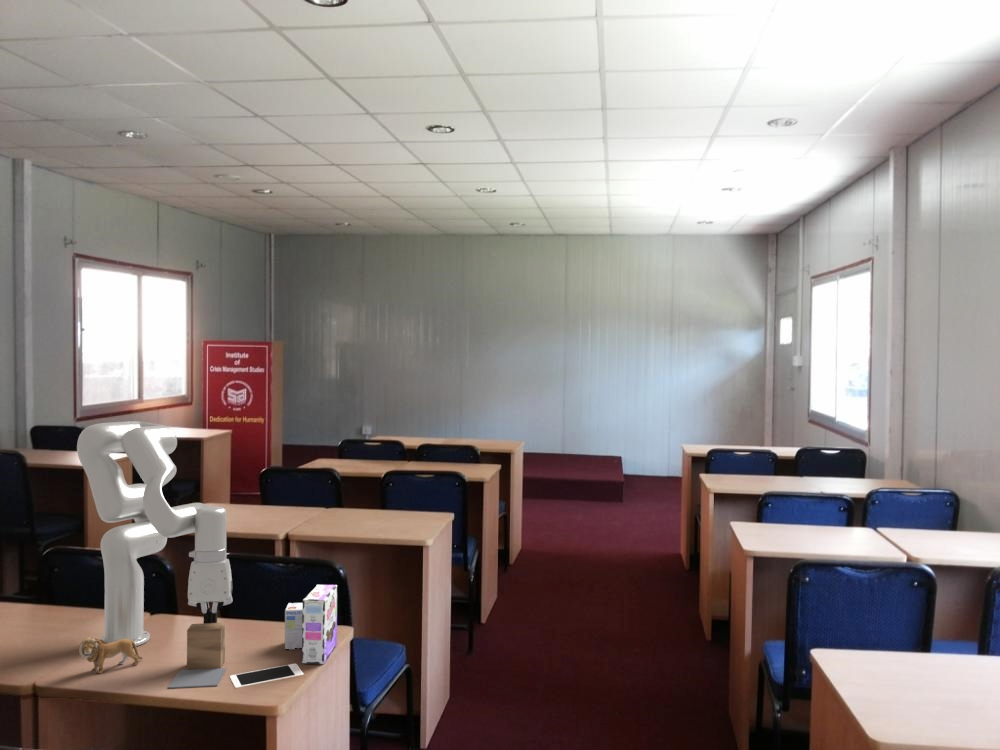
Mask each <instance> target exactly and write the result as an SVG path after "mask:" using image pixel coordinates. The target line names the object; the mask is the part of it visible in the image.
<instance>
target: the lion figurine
mask: <svg viewBox="0 0 1000 750" xmlns="http://www.w3.org/2000/svg"><path fill="white" fill-rule="evenodd" d="M132 646H133V647H132ZM78 648H79V656H80V657H81V659H85V660H86V661H88V662H89V663H93V667H92V668H91V671H92V670H96V669H97V670H96V674H97V673H101V672H102V673H103V671H104V663H105V660H106V659H112V658H114V657H116V656H118V655H119V654H120V653H121V655H122V657H123V658H122V660H120V661H118V665H119V664H121V665H124V664H125V663H126V662H127V660H129V659H128V658H131V659H132V660H134V662H132V664H131V665H132V666H138V664H139V660H143V659H144V658H143V657H142V656H140V655H139V651H138V646H136V644H135V643H134V642H133V641H132V640H130V639H121V640H118V641H116V642H112V643H108V642H105V641H103V640H101V639H100V638H96V637H86V638H84V639H82V641H81V642H79V647H78ZM102 673H101V674H102Z"/></svg>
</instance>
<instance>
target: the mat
mask: <svg viewBox="0 0 1000 750" xmlns="http://www.w3.org/2000/svg"><path fill="white" fill-rule="evenodd" d="M226 671H227V667H222V668H216V669H195V670H187V669H180V670H179V671H178V672H177V674H176V675H175V676H174V678H172V679H173V680H172V681H171V682H170V684H169V685H168V686H167V689H169V688H170V689H187V688H189V689H190V688H204V687H205V688H207V687H218V686H219V684H220V682H221V680H222V679H223V676H224V674H225V673H226ZM170 689H169V690H170Z"/></svg>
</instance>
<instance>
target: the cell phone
mask: <svg viewBox="0 0 1000 750" xmlns="http://www.w3.org/2000/svg"><path fill="white" fill-rule="evenodd" d="M301 676H304V672H303V670H301V668H300V666H299V665H298V664H297V663H290V664H285V665H281V666H280V665H278V666H275V667H269V668H263V669H259V670H252V671H248V672H242V673H238V674H237V673H236V674H232V675H231V674H230V676H229V679H230V680H231V682H232V685H233V687H234V688H235V689H239V688H245V687H250V686H255V685H261V684H265V683H271V682H276V681H282V680H286V679H291V678H296V677H301Z"/></svg>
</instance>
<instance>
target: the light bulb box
mask: <svg viewBox="0 0 1000 750" xmlns="http://www.w3.org/2000/svg"><path fill="white" fill-rule="evenodd" d="M302 613H303V602H293V603H292V602H288V604H287V605H286V608H285V609H284V650H285V649H289V650H296V649H295V648H302Z"/></svg>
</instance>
